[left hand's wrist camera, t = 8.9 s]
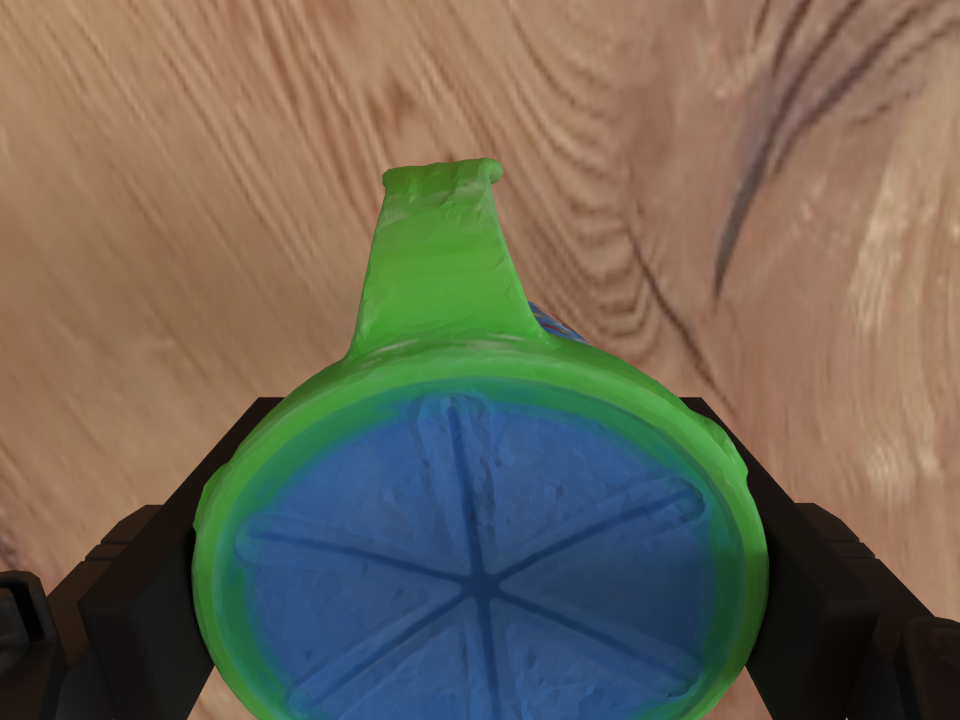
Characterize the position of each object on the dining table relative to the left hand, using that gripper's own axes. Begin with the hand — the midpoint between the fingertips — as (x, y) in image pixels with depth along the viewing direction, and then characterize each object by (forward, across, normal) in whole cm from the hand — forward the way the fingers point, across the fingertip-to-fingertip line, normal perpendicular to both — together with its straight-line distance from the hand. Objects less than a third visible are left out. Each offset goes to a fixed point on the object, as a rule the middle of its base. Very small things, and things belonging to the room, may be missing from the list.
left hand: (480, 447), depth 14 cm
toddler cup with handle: (+3, 0, 0) cm, 3 cm away
